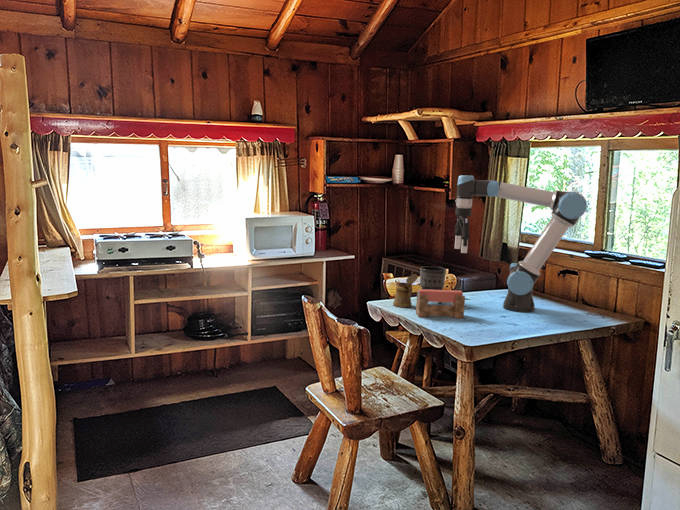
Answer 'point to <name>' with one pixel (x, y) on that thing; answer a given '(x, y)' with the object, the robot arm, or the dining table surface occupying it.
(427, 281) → the planter
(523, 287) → the robot arm
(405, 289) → the brown jug
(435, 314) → the wooden cradle
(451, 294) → the rail
